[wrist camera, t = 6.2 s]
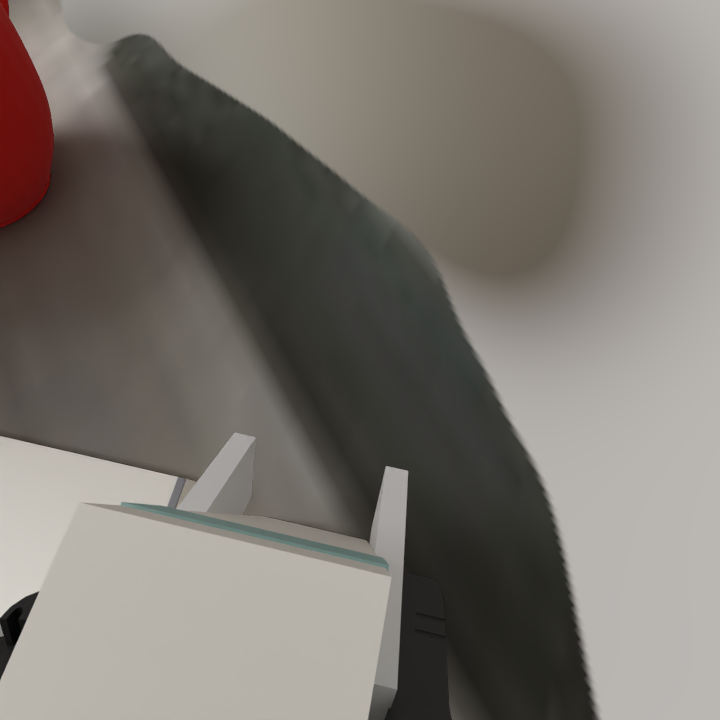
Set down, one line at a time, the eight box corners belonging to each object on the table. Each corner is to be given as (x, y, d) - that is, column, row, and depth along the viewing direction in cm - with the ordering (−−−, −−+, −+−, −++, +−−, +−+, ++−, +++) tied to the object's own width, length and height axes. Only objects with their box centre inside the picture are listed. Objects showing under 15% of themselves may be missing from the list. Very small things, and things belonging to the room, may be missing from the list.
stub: (230, 637, 16) (-130, 963, 4) (264, 515, 18) (77, 498, 6) (343, 666, 16) (307, 1110, 4) (367, 539, 18) (395, 574, 6)
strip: (-124, 567, 17) (-187, 573, 15) (-43, 426, 19) (-88, 415, 17) (150, 638, 16) (122, 654, 14) (203, 483, 18) (185, 478, 16)
